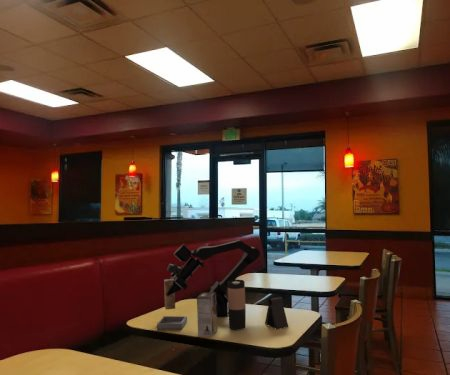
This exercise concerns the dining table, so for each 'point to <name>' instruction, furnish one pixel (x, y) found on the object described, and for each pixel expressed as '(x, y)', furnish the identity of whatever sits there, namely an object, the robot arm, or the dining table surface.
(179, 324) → the tray
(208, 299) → the coffee box
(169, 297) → the tan cylinder
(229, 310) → the travel mug
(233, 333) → the dining table surface
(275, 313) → the door stopper
